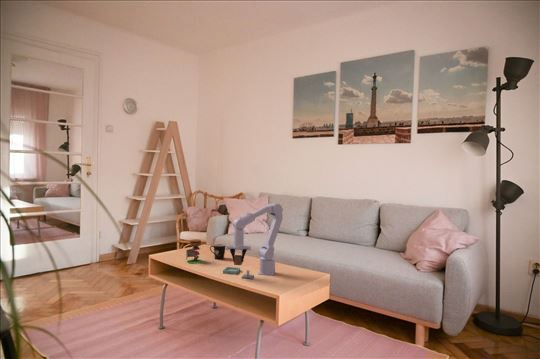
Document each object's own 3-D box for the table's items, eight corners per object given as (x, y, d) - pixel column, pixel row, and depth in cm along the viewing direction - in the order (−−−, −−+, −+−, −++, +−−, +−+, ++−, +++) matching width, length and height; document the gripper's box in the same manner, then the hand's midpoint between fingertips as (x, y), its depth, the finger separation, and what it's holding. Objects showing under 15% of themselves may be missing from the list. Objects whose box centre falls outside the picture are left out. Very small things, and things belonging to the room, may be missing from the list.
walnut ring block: (242, 263, 217) (242, 255, 217) (240, 265, 213) (241, 256, 213) (235, 263, 217) (235, 254, 217) (233, 264, 213) (234, 256, 213)
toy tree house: (205, 260, 253) (206, 238, 253) (200, 264, 240) (201, 242, 240) (189, 259, 254) (190, 238, 254) (183, 263, 242) (184, 241, 241)
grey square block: (253, 276, 216) (254, 269, 216) (251, 279, 211) (251, 272, 210) (244, 275, 217) (244, 268, 217) (241, 278, 212) (241, 271, 212)
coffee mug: (227, 259, 257) (228, 245, 257) (217, 261, 251) (217, 246, 251) (218, 256, 266) (219, 242, 265) (208, 257, 260) (209, 244, 260)
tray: (240, 270, 228) (240, 267, 228) (236, 274, 220) (236, 271, 220) (227, 269, 230) (227, 266, 230) (222, 273, 221) (222, 270, 221)
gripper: (251, 238, 218) (250, 260, 219) (227, 237, 219) (227, 259, 219) (250, 240, 211) (249, 263, 212) (225, 239, 212) (225, 262, 212)
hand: (238, 261), depth 215 cm, fingers closed on walnut ring block, 4 cm apart
